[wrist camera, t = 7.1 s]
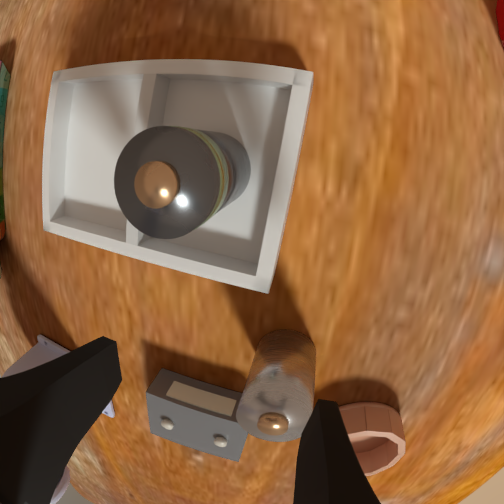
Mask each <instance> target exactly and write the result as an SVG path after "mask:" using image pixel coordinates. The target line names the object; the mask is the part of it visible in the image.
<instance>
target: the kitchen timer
mask: <svg viewBox="0 0 504 504" xmlns="http://www.w3.org/2000/svg"><path fill="white" fill-rule="evenodd" d="M496 15H497V21H498V28H499V35H500V38H501V41H502V44H503V47H504V0H497V7H496Z"/></svg>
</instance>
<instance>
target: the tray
mask: <svg viewBox="0 0 504 504" xmlns="http://www.w3.org/2000/svg"><path fill="white" fill-rule="evenodd" d="M312 88H313V72H311V71H305V70H300V69H294V68H288V67H281V66H274V65H266V64H258V63H249V62H238V61H224V60H204V59H156V60H137V61H124V62H113V63H104V64H96V65H89V66H82V67H76V68H70V69H65V70H59V71H54V72H53V77H52V83H51V88H50V94H49V101H48V108H47V116H46V125H45V136H44V149H43V171H42V206H43V228H44V231H48V232H51V233H54V234H57V235H60V236H63V237H66V238H69V239H73V240H76V241H79V242H82V243H85V244H89V245H92V246H95V247H98V248H102V249H105V250H108V251H112V252H115V253H119V254H122V255H125V256H129V257H132V258H136V259H139V260H143V261H146V262H150V263H153V264H157V265H160V266H164V267H167V268H171V269H175V270H178V271H182V272H186V273H189V274H193V275H197V276H200V277H204V278H208V279H212V280H216V281H219V282H223V283H227V284H231V285H235V286H239V287H243V288H247V289H251V290H255V291H259V292H263V293H267V294H268V293H269V290H270V287H271V284H272V281H273V277H274V274H275V270H276V265H277V261H278V256H279V252H280V247H281V243H282V238H283V233H284V229H285V224H286V220H287V215H288V210H289V205H290V201H291V196H292V191H293V186H294V181H295V176H296V171H297V166H298V161H299V156H300V151H301V146H302V141H303V136H304V131H305V126H306V120H307V115H308V110H309V104H310V99H311V93H312ZM156 126H179V127H187V128H192V129H198V130H205V131H213V132H220V133H224V134H227V135H230V136H232V137H233V138H235V139H236V140H237V141H239V142H240V143H241V144H242V146H243V147H244V148H245V150H246V152H247V154H248V156H249V159H250V164H251V175H250V180H249V183H248V185H247V187H246V189H245V191H244V192H243V193H242V194H241V196H240V197H238V198H237V199H236V200H235V201H233V202H232V203H230V204H229V205H227V206H226V207H225V208H223V209H222V210H220V211H219V212H218V213H216V214H215V215H214V216H213V217H212V218H210V219H209V220H208V221H206V222H205V223H204V224H202V225H201V226H199V227H198V228H197V229H195V230H193V231H191V232H190V233H188V234H186V235H184V236H181V237H178V238H174V239H158V238H154V237H151V236H148V235H146V234H144V233H142V232H140V231H139V230H138V229H136V228H135V227H134V226H133V225H132V224H131V223H130V222H129V221H128V220H127V219H126V217H125V216H124V214H123V213H122V211H121V209H120V207H119V204H118V202H117V199H116V195H115V189H114V172H115V167H116V164H117V160H118V158H119V156H120V153H121V152H122V150H123V148H124V147H125V145H126V144H127V143H128V142H129V141H130V140H131V139H132V138H133V137H134V136H135V135H137V134H138V133H140V132H142V131H143V130H146V129H148V128H151V127H156Z"/></svg>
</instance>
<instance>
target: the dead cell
mask: <svg viewBox="0 0 504 504" xmlns="http://www.w3.org/2000/svg"><path fill="white" fill-rule="evenodd" d="M315 367H316V349H315V346H314V344H313V342H312V341H311V340H310V339H309V338H308V337H307V336H305V335H304V334H302V333H300V332H297V331H294V330H276V331H273V332H270V333H268V334H267V335H265V336H264V337H263V338H262V339H261V340H260V342H259V344H258V347H257V350H256V353H255V356H254V359H253V363H252V366H251V369H250V372H249V375H248V378H247V382H246V385H245V388H244V391H243V394H242V397H241V400H240V403H239V406H238V409H237V412H236V419H237V422H238V423H239V425H240V426H241V427H242V428H243V429H244V430H245V431H246V432H247V433H249V434H251V435H253V436H255V437H257V438H260V439H263V440H267V441H275V442H284V441H291V440H294V439H297V438H300V437H301V434H302V432H303V430H304V428H305V426H306V424H307V422H308V420H309V418H310V416H311V414H312V412H313V402H314V386H315Z"/></svg>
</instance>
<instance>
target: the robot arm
mask: <svg viewBox="0 0 504 504" xmlns="http://www.w3.org/2000/svg"><path fill="white" fill-rule="evenodd" d="M37 339H38V343H37V344H36V345H35V346H34V347H32V348H31V349H30V350H29V351H28V352H27V353H25V354H24V355H23V356H22V357H21V358H20V359H19V360H17V361H16V362H15V363H14V364H13V365H12V366H11V367H9V368H8V369H7V370H6V372H5V373H4V375H3V376H2V378H0V504H55V503H56V502H57V501H58V500H59V499H60V498H61V497H62V496H63V494H64V493H65V491H66V489H67V487H68V485H69V482H70V471H69V468H68V467H67V466H66V465H67V463H68V461H69V459H70V458H71V456H72V454H73V452H74V450H75V449H76V447H77V445H78V444H79V442H80V441H81V439H82V438H83V437H84V435H85V434H86V433H87V431H88V430H89V429H90V428H91V426H92V425H93V424H94V422H95V421H96V420H97V418H98V417H99V416H100V414H101V413H104V414H106V415H108V416H110V417H114V416H115V412H114V408H113V404H112V400H111V399H112V398H113V396H114V394H115V392H116V391H117V389H118V387H119V385H120V383H121V381H122V376H121V370H120V364H119V357H118V350H117V343H116V341H113V340H111V339H109V338H106V337H104V336H102V337H100V338H98V339H96V340H93V341H91V342H89V343H87V344H85V345H83V346H81V347H79V348H77V349H75V350H73V351H69V350H67V349H65V348H63V347H62V346H60V345H58V344H56V343H55V342H53V341H51V340H49V339H48V338H46V337H44V336H43V335H41V334H39V335H38V336H37ZM293 504H381V503H380V502H379V500H378V498H377V497H376V495H375V493H374V491H373V489H372V488H371V486H370V484H369V482H368V480H367V478H366V476H365V474H364V472H363V470H362V468H361V465H360V463H359V461H358V459H357V456H356V454H355V451H354V449H353V446H352V444H351V441H350V439H349V436H348V433H347V430H346V428H345V425H344V422H343V419H342V416H341V413H340V410H339V406H338V404H337V402H334V401H327V400H321V399H318V401H317V403H316V405H315V407H314V409H313V412H312V414H311V416H310V418H309V420H308V422H307V424H306V426H305V428H304V430H303V432H302V434H301V440H300V445H299V450H298V456H297V465H296V478H295V490H294V502H293Z"/></svg>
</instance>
